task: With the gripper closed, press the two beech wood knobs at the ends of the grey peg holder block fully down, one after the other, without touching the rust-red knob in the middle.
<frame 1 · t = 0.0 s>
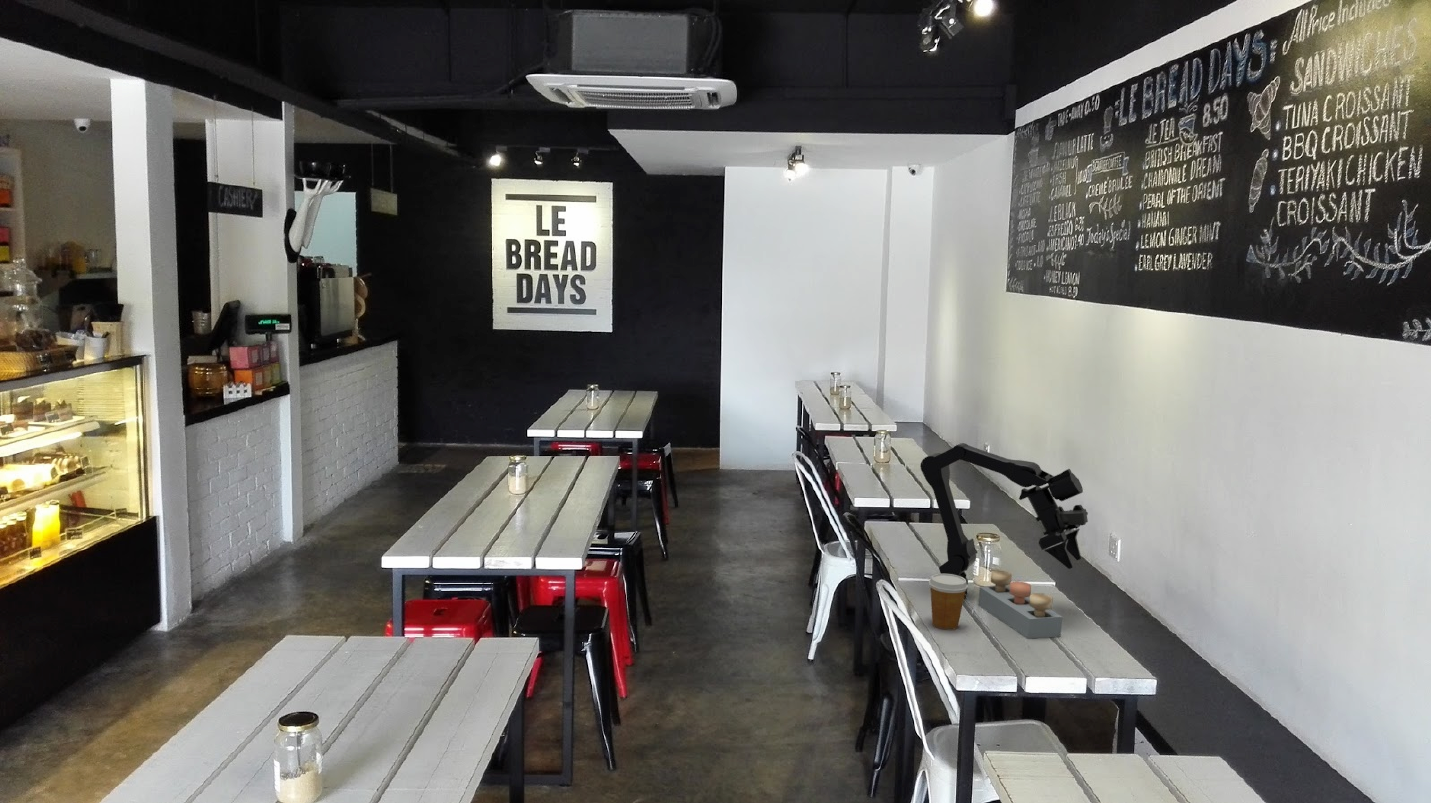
hand: (1075, 563, 260), 15 cm above the table, tool tilted 35°, fingers open, 9 cm apart
disposable coffee cup: (945, 625, 255), on the table
knob 1: (1000, 586, 268), point 6 cm above the table, slide at 0.0 cm
knob middle: (1019, 598, 259), point 6 cm above the table, slide at 0.0 cm
knob 2: (1039, 611, 251), point 6 cm above the table, slide at 0.0 cm
grey peg holder block: (1017, 620, 260), on the table
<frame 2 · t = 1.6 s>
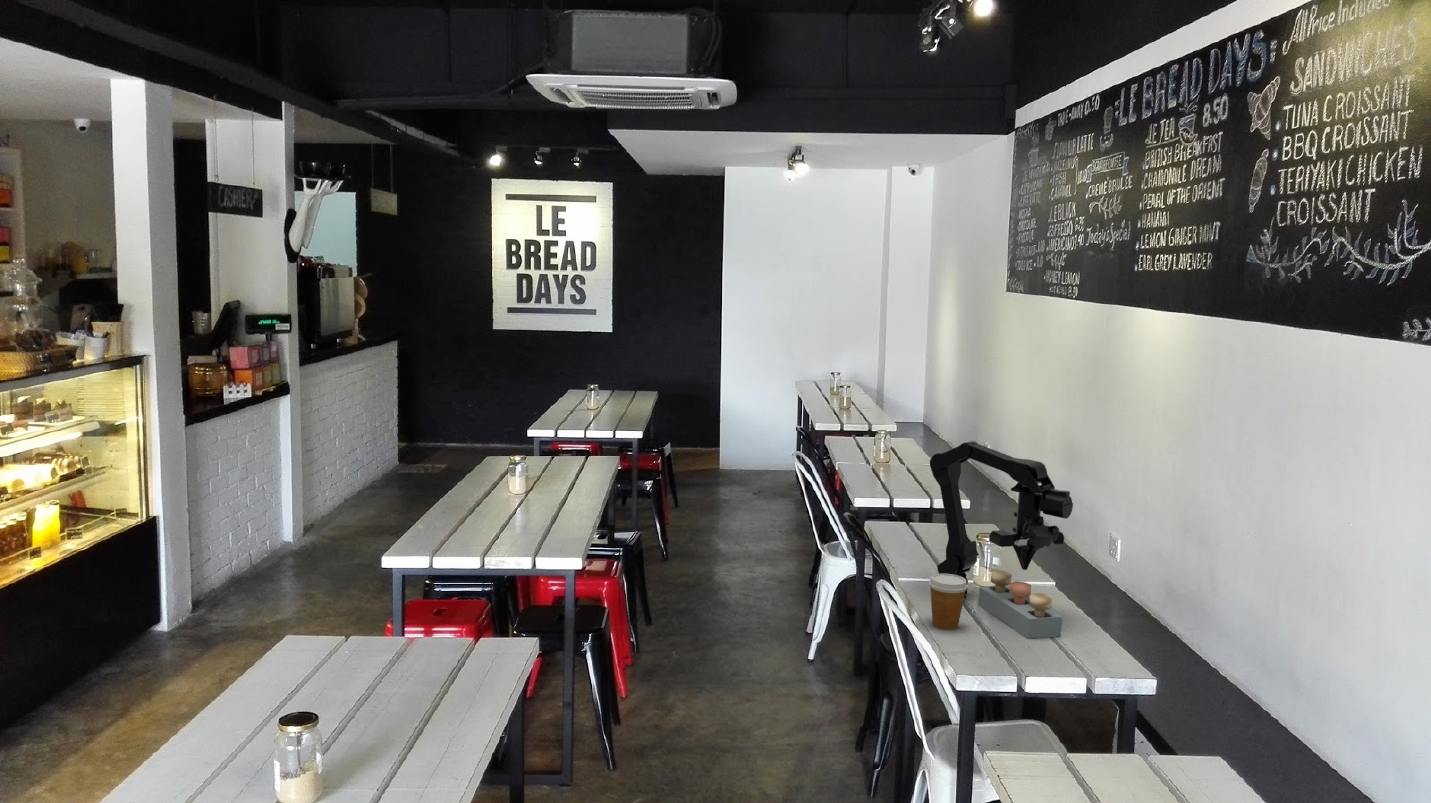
hand: (1024, 569, 263), 12 cm above the table, tool pointing down, fingers closed
nothing on the table moved.
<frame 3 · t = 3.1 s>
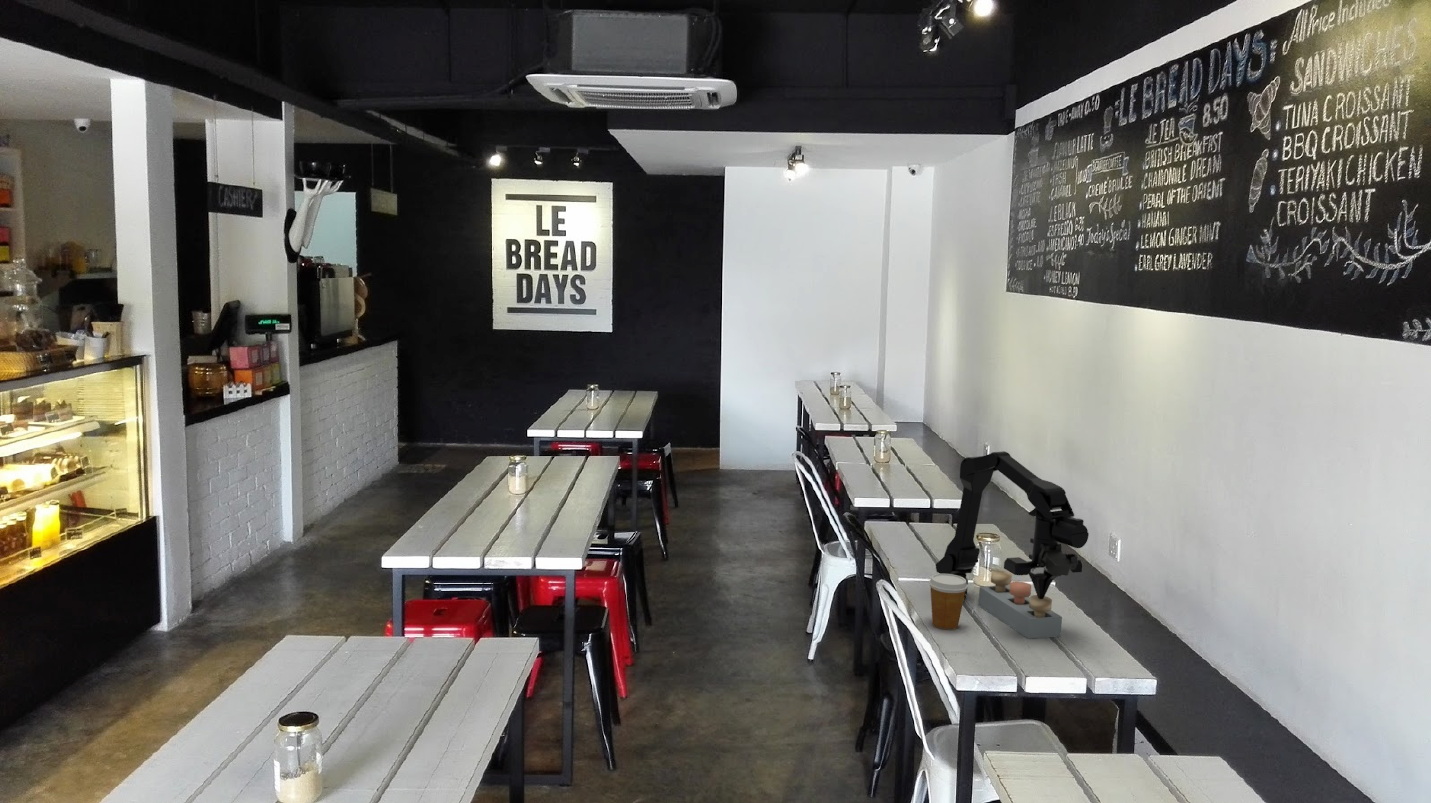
hand: (1040, 598, 250), 9 cm above the table, tool pointing down, fingers closed, pressing on knob 2
knob 2: (1039, 613, 251), point 5 cm above the table, slide at 0.5 cm, touching gripper
everything else where it was.
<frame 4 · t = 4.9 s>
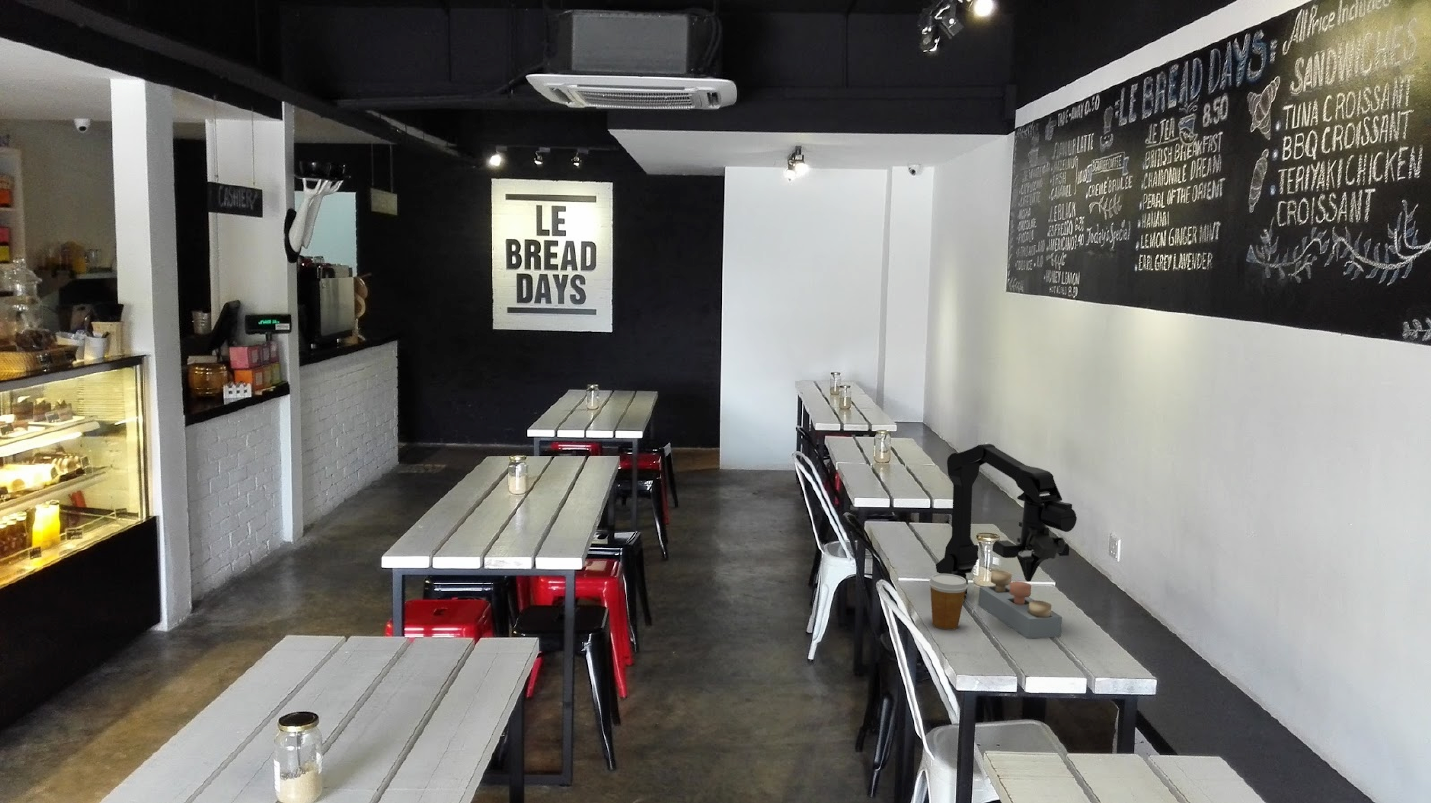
hand: (1027, 580, 255), 11 cm above the table, tool pointing down, fingers closed
knob 2: (1039, 618, 251), point 4 cm above the table, slide at 1.9 cm
everything else where it was.
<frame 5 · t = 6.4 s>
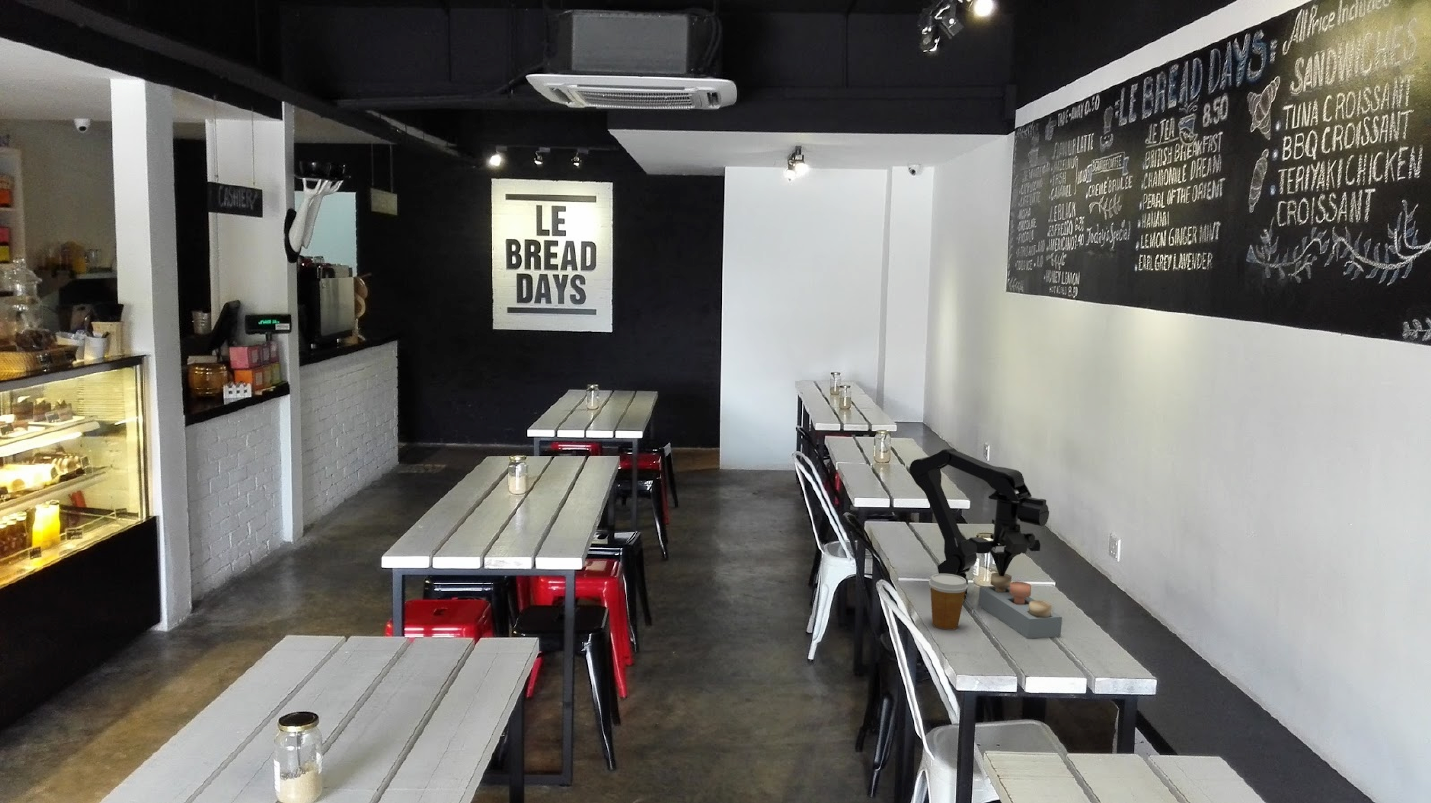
hand: (1001, 575, 268), 9 cm above the table, tool pointing down, fingers closed, pressing on knob 1
knob 1: (1000, 589, 268), point 5 cm above the table, slide at 0.6 cm, touching gripper
everything else where it was.
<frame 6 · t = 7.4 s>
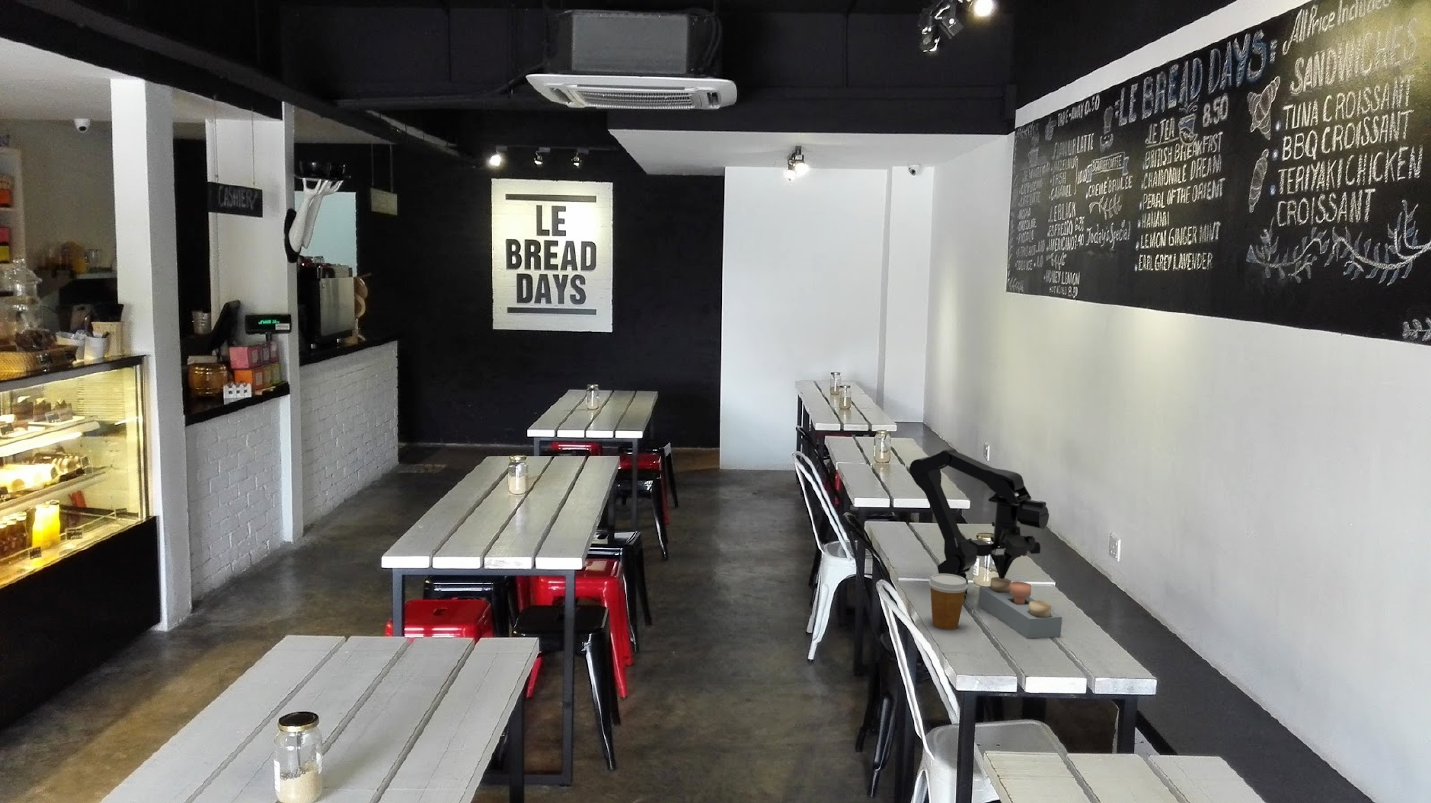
hand: (1001, 578, 268), 8 cm above the table, tool pointing down, fingers closed
knob 1: (999, 593, 268), point 4 cm above the table, slide at 1.9 cm
everything else where it was.
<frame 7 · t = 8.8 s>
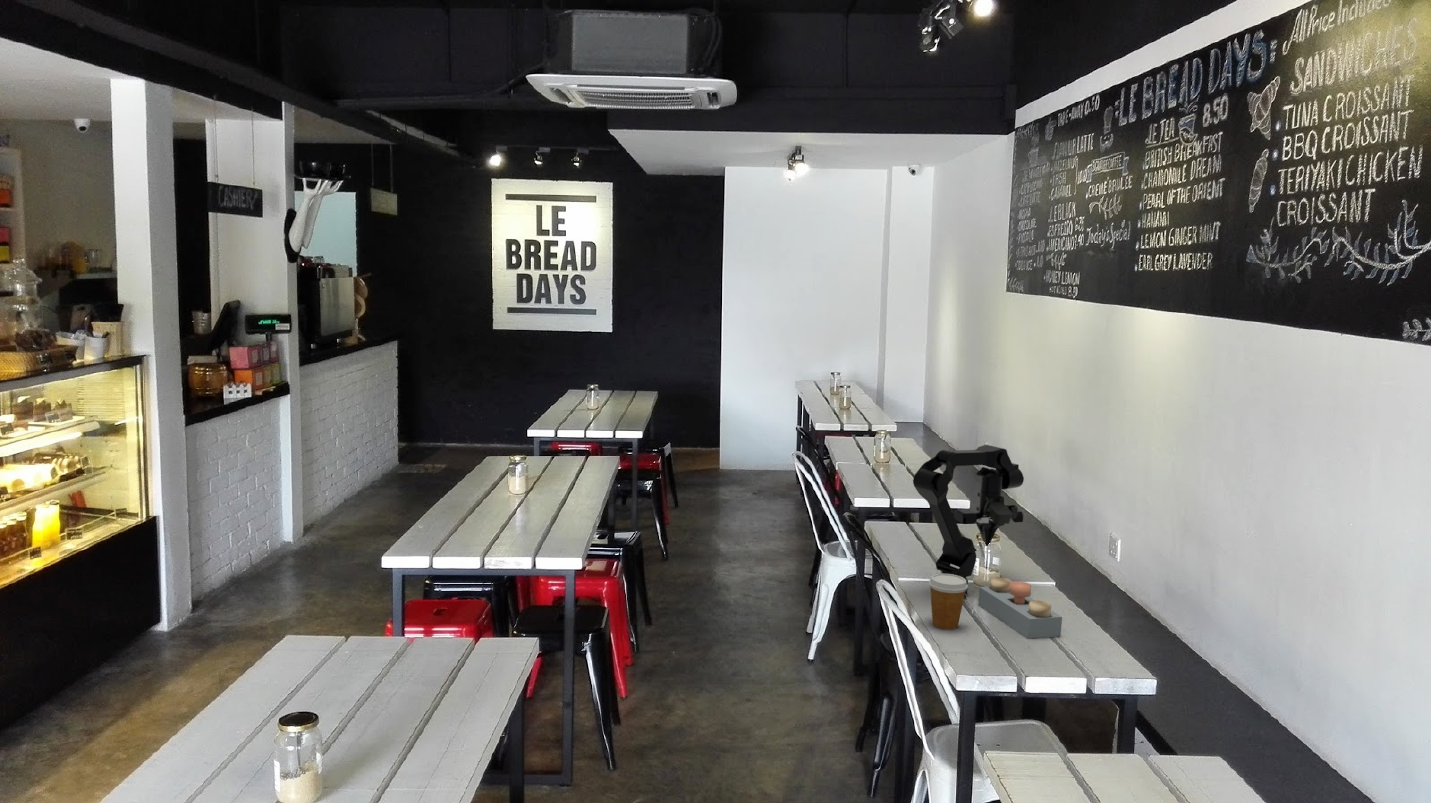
hand: (986, 545, 284), 12 cm above the table, tool pointing down, fingers closed
nothing on the table moved.
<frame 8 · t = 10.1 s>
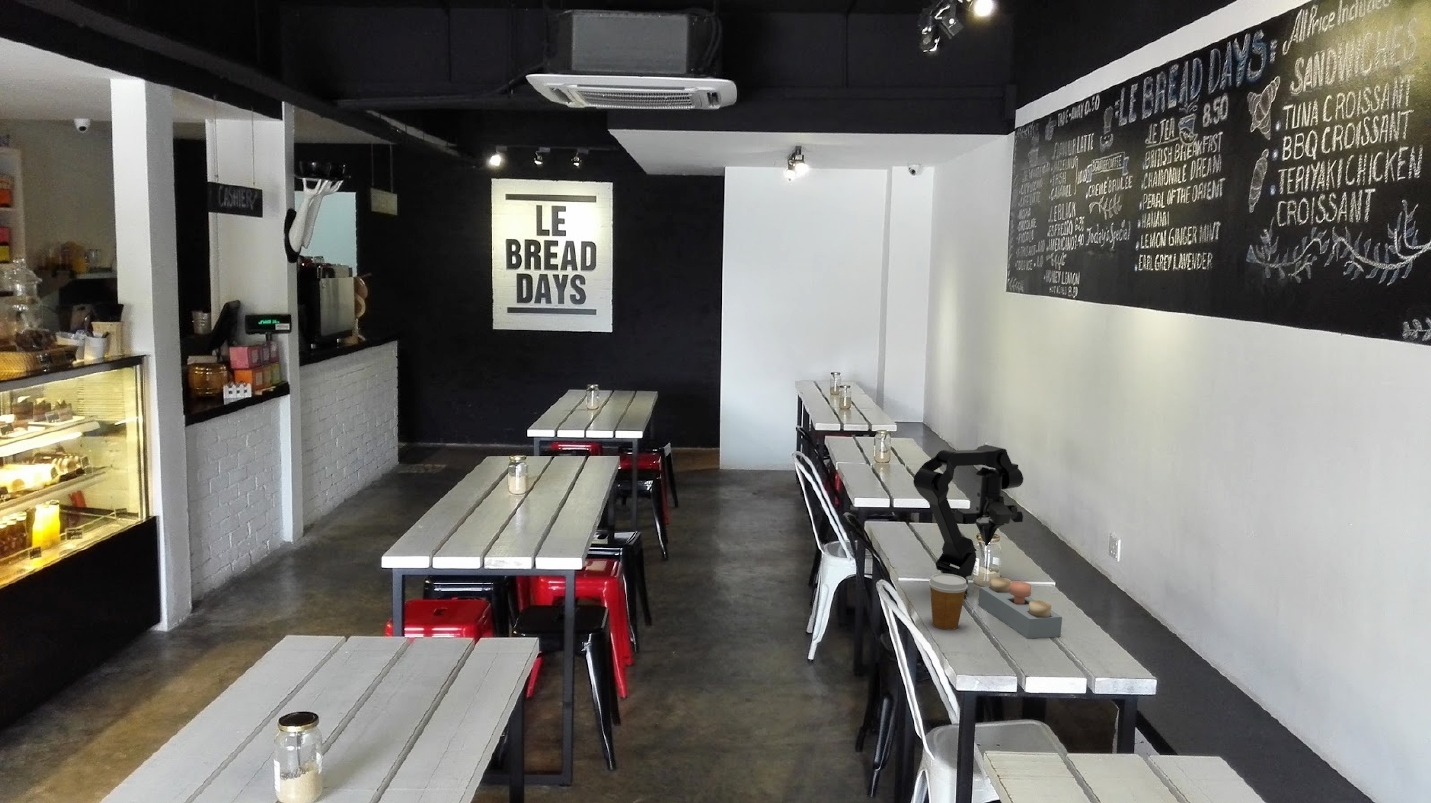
hand: (986, 545, 284), 12 cm above the table, tool pointing down, fingers closed
nothing on the table moved.
at the end: knob 2 slide at 1.9 cm; knob 1 slide at 1.9 cm; knob middle slide at 0.0 cm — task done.
